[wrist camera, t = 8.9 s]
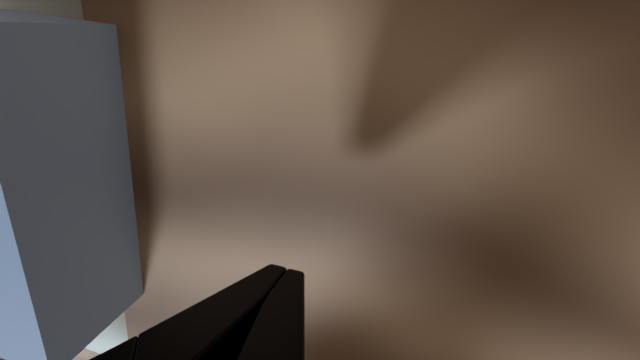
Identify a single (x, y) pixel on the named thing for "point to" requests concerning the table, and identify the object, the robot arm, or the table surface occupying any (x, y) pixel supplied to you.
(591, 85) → the board
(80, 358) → the table surface
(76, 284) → the t block
